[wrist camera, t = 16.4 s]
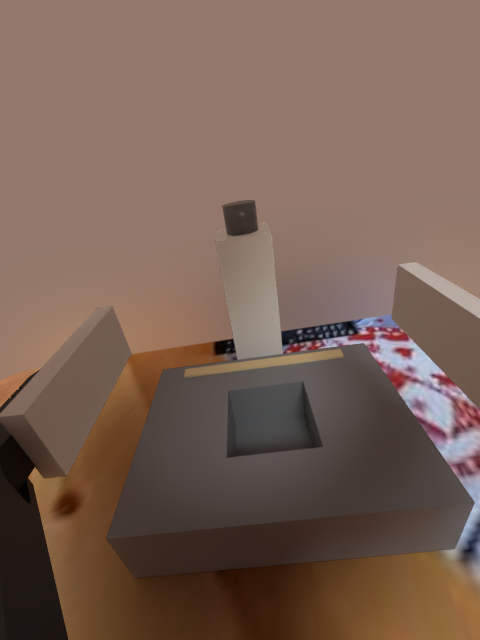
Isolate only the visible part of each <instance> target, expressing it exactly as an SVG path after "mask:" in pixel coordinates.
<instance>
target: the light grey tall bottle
mask: <svg viewBox="0 0 480 640" xmlns="http://www.w3.org/2000/svg"><path fill="white" fill-rule="evenodd" d="M222 207H223V213H224V219H225V224H226V228H225V229H219V230H218V232H217V236H216V241H215V244H216V249H217V254H218V259H219V265H220V270H221V275H222V280H223V286H224V291H225V297H226V302H227V307H228V312H229V318H230V323H231V328H232V333H233V339H234V344H235V349H236V354H237V360H240V359H247V358H255V357H263V356H270V355H278V354H283V350H282V339H281V330H280V319H279V307H278V298H277V286H276V275H275V265H274V254H273V244H272V234H271V232H270V229H269V227H268V225H267V223H266V222H263V223H257V215H256V206H255V201H254V200H245V201H238V202H232V203H228V204H225V205H223V206H222Z"/></svg>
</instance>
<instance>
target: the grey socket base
mask: <svg viewBox="0 0 480 640" xmlns="http://www.w3.org/2000/svg"><path fill="white" fill-rule="evenodd" d="M474 503H475V502H474V501H473V499H472V498H471V497H470V495H469V494H468V492H467V491H466V489H465V488H464V487H463V485H462V484H461V482H460V481H459V479H458V478H457V476H456V475H455V474H454V472H453V471H452V469H451V468H450V466H449V465H448V464H447V462H446V461H445V459H444V458H443V456H442V455H441V454H440V452H439V451H438V449H437V448H436V446H435V445H434V443H433V442H432V441H431V439H430V438H429V436H428V435H427V433H426V432H425V431H424V429H423V428H422V426H421V425H420V423H419V422H418V420H417V419H416V418H415V416H414V415H413V413H412V412H411V410H410V409H409V408H408V406H407V405H406V403H405V402H404V400H403V399H402V397H401V396H400V395H399V393H398V392H397V390H396V389H395V387H394V386H393V385H392V383H391V382H390V380H389V379H388V377H387V376H386V375H385V373H384V372H383V370H382V369H381V367H380V366H379V364H378V363H377V362H376V360H375V359H374V357H373V356H372V354H371V353H370V352H369V350H368V349H367V347H366V346H365V344H364V343H361V344H354V345H346V346H339V347H331V348H323V349H316V350H308V351H301V352H293V353H285V354H278V355H270V356H263V357H255V358H247V359H240V360H232V361H225V362H217V363H209V364H202V365H194V366H186V367H179V368H171V369H164V370H163V371H162V374H161V377H160V380H159V383H158V386H157V389H156V392H155V395H154V398H153V401H152V404H151V407H150V410H149V413H148V416H147V419H146V422H145V425H144V428H143V431H142V434H141V437H140V440H139V443H138V446H137V449H136V452H135V455H134V458H133V461H132V464H131V467H130V470H129V473H128V476H127V479H126V481H125V484H124V487H123V490H122V493H121V496H120V499H119V502H118V505H117V508H116V511H115V514H114V517H113V520H112V523H111V526H110V529H109V532H108V535H107V538H106V539H107V541H108V542H109V543H110V545H111V546H112V548H113V549H114V550H115V552H116V553H117V554H118V556H119V557H120V558H121V560H122V561H123V563H124V564H125V565H126V567H127V568H128V569H129V571H130V572H131V573H132V575H133V576H134V578H140V577H151V576H162V575H174V574H185V573H196V572H207V571H218V570H229V569H240V568H251V567H262V566H273V565H284V564H295V563H306V562H317V561H328V560H339V559H350V558H361V557H372V556H383V555H394V554H405V553H416V552H427V551H438V550H449V549H455V547H456V545H457V543H458V540H459V538H460V536H461V533H462V531H463V529H464V526H465V524H466V522H467V519H468V517H469V515H470V512H471V510H472V508H473V505H474Z"/></svg>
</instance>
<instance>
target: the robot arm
mask: <svg viewBox="0 0 480 640" xmlns="http://www.w3.org/2000/svg"><path fill="white" fill-rule="evenodd" d="M392 319H393V320H394V321H395V322H396V324H397V325H398V326H399V327H400V328H401V329H402V330H403V331H404V332H405V333H406V334H407V335H408V336H409V337H410V338H411V339H412V340H413V341H414V342H415V343H416V344H417V345H418V346H419V347H420V348H421V349H422V350H423V351H424V352H425V353H426V354H427V355H428V356H429V358H430V359H431V360H432V361H433V362H434V363H435V364H436V365H437V366H438V367H439V368H440V369H441V370H442V371H443V372H444V373H445V374H446V375H447V376H448V377H449V378H450V379H451V380H452V381H453V382H454V383H455V384H456V385H457V386H458V387H459V388H460V389H461V390H462V391H463V393H464V394H465V395H466V396H467V397H468V398H469V399H470V400H471V401H472V402H473V403H474V404H475V405H476V406H477V407H478V408H479V409H480V299H479V298H477V297H475V296H473V295H472V294H470V293H468V292H466V291H465V290H463V289H461V288H460V287H458V286H456V285H454V284H453V283H451V282H449V281H448V280H446V279H444V278H442V277H441V276H439V275H437V274H435V273H434V272H432V271H430V270H429V269H427V268H425V267H423V266H422V265H420V264H418V263H416V262H412V263H405V264H398V268H397V276H396V285H395V293H394V302H393V310H392ZM130 355H131V351H130V348H129V346H128V343H127V341H126V339H125V336H124V333H123V331H122V328H121V326H120V323H119V321H118V318H117V316H116V314H115V311H114V308H113V306H107V307H100V308H96V309H95V310H94V312H93V313H92V314H91V315H90V316H89V317H88V318H87V319H86V320H85V321H84V322H83V324H82V325H81V326H80V327H79V328H78V329H77V330H76V331H75V332H74V333H73V334H72V336H71V337H70V338H69V339H68V340H67V341H66V342H65V343H64V344H63V345H62V347H61V348H60V349H59V350H58V351H57V352H56V353H55V354H54V355H53V356H52V357H51V359H50V360H49V361H48V362H47V363H46V364H45V365H44V366H43V367H42V368H41V369H40V370H38V371H37V372H35V373H34V374H33V375H31V376H30V377H28V379H27V380H26V381H25V382H24V383H23V384H22V385H21V386H20V387H19V390H16V391H15V392H14V393H13V395H12V396H11V398H9V399H8V400H7V401H6V402H5V403H4V404H3V405H2V406H1V407H0V640H68V636H67V632H66V627H65V623H64V619H63V614H62V610H61V605H60V601H59V597H58V592H57V588H56V583H55V579H54V575H53V570H52V566H51V561H50V557H49V553H48V548H47V544H46V539H45V535H44V530H43V526H42V522H41V517H40V513H39V508H38V504H37V500H36V495H35V491H34V486H33V484H32V483H31V481H30V480H29V479H28V477H29V475H30V474H31V472H32V470H33V469H34V467H35V468H36V469H37V470H38V471H39V473H40V474H41V475H42V477H43V478H53V477H62V476H67V475H68V473H69V471H70V469H71V467H72V465H73V464H74V462H75V460H76V458H77V456H78V454H79V452H80V450H81V448H82V446H83V445H84V443H85V441H86V439H87V437H88V435H89V433H90V431H91V429H92V427H93V426H94V424H95V422H96V420H97V418H98V416H99V414H100V412H101V410H102V408H103V407H104V405H105V403H106V401H107V399H108V397H109V395H110V393H111V391H112V389H113V388H114V386H115V384H116V382H117V380H118V378H119V376H120V374H121V372H122V370H123V368H124V367H125V365H126V363H127V361H128V359H129V357H130Z"/></svg>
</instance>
